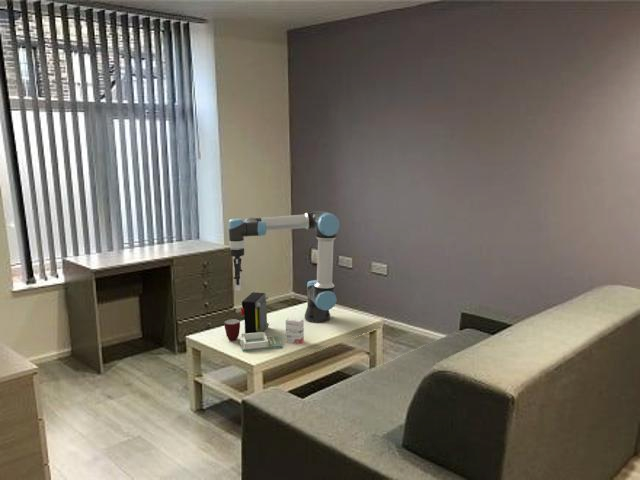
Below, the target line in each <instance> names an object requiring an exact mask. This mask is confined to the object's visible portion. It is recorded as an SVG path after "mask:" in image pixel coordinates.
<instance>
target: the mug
mask: <svg viewBox="0 0 640 480" xmlns="http://www.w3.org/2000/svg"><path fill="white" fill-rule="evenodd" d="M224 330H225V334H226V338H227V339H228V340H229V341H230V342H235V341H237V340H238V339H239V335H240V330H241V320H239V319H236V318H232V319H227V320H225V321H224Z"/></svg>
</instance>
